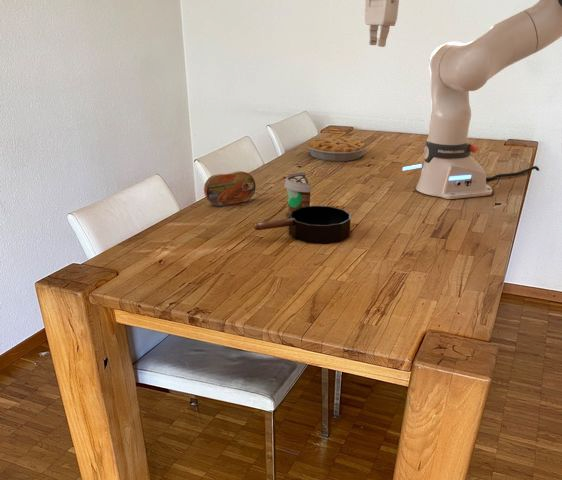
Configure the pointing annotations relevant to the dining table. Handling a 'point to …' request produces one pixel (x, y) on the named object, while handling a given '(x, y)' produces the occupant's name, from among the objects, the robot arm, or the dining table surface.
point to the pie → (336, 148)
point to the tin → (229, 188)
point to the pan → (314, 224)
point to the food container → (297, 191)
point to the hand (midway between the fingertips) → (376, 45)
